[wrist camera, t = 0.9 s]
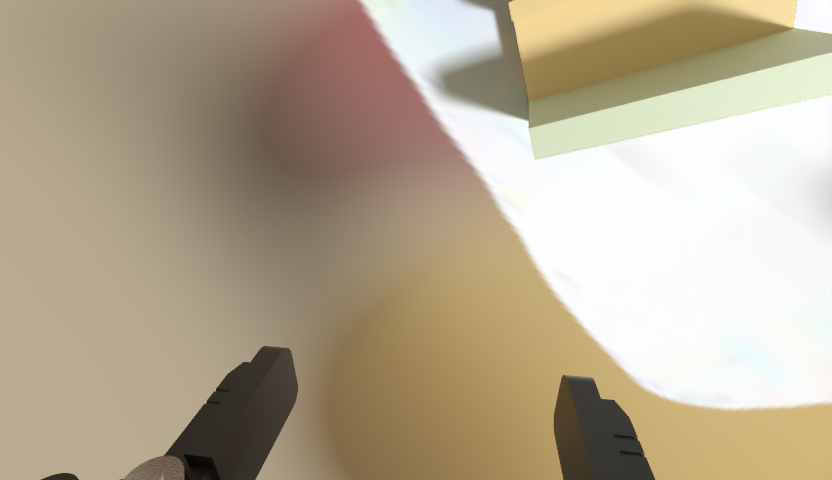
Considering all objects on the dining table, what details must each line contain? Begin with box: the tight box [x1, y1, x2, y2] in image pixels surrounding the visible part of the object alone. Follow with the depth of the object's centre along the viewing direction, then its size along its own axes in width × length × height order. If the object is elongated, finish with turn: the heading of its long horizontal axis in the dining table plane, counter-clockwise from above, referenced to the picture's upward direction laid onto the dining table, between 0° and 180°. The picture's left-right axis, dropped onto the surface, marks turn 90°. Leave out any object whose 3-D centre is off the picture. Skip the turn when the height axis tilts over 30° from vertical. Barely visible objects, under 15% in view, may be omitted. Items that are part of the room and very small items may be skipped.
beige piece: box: [509, 0, 832, 160], centre depth 22 cm, size 8×15×8 cm, turn 110°
